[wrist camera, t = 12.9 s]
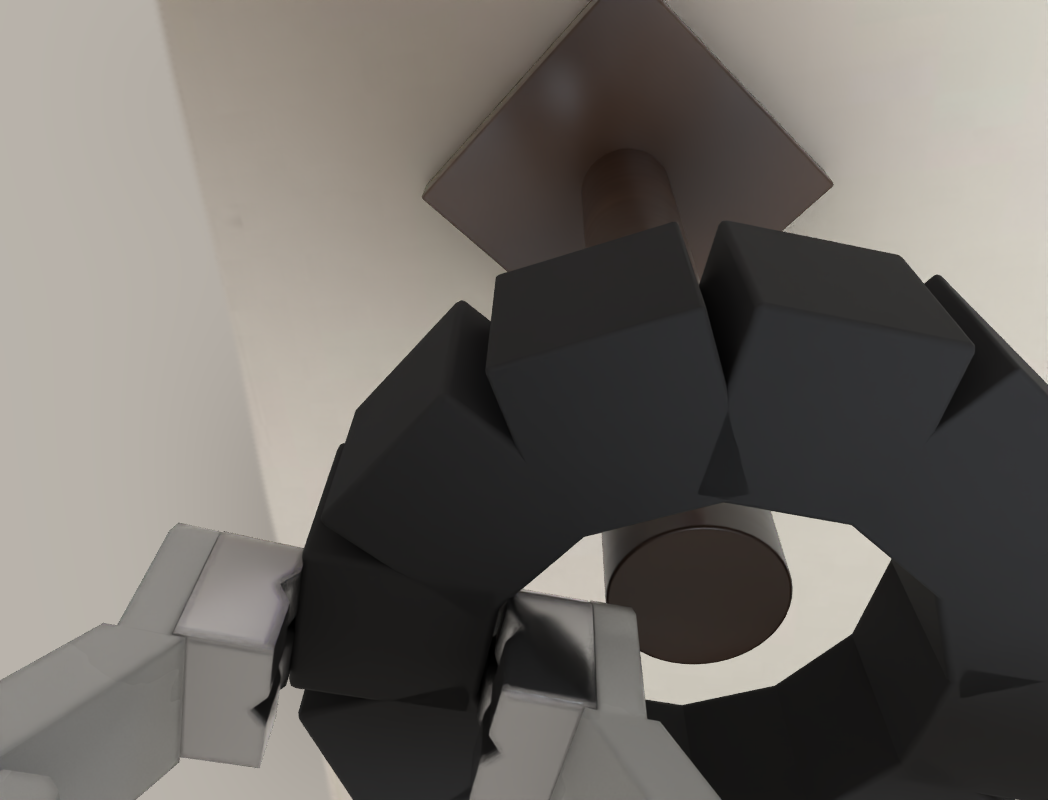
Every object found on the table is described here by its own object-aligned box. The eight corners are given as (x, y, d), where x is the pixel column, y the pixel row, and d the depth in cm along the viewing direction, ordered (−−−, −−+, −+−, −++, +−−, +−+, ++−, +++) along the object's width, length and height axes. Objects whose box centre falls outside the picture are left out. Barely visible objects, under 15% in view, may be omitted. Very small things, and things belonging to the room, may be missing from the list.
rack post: (424, 186, 27) (267, 603, 13) (626, -39, 24) (728, 170, 9) (621, 356, 30) (680, 863, 15) (826, 173, 26) (1151, 595, 12)
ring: (194, 581, 13) (134, 708, 11) (704, 34, 9) (742, 86, 7) (676, 866, 16) (693, 1003, 14) (1207, 546, 12) (1325, 674, 11)
